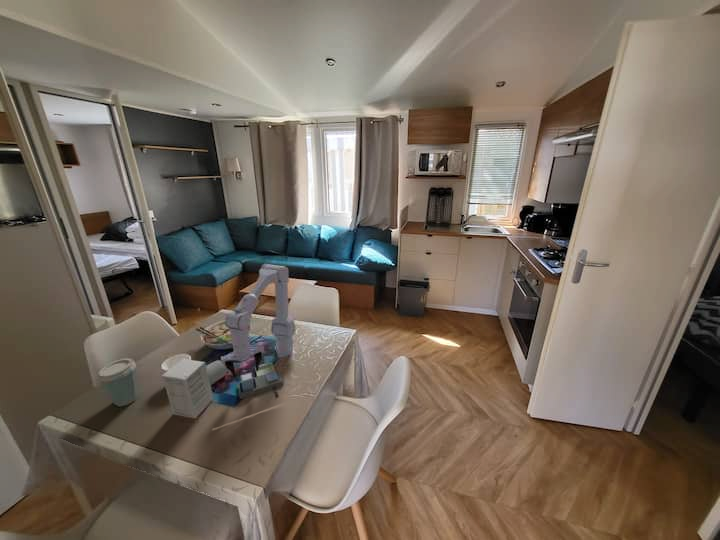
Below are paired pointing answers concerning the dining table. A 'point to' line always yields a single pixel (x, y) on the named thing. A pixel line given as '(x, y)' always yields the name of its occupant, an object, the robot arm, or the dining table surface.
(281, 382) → the grey busybox board
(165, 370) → the cup
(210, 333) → the ramen bowl
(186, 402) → the supplement box
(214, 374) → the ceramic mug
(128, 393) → the disposable coffee cup
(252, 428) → the dining table surface
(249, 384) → the plug
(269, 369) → the tray
